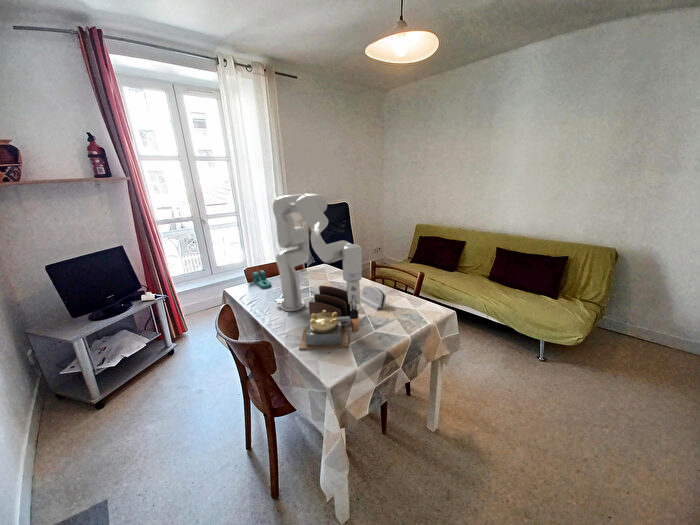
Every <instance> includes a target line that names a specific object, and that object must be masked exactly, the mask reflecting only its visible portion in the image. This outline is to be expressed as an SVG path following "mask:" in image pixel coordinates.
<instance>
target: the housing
mask: <svg viewBox="0 0 700 525" xmlns="http://www.w3.org/2000/svg"><path fill="white" fill-rule="evenodd" d="M349 346H350V345H349V325H348V324H346V325H343V324H342V322H338V327H337V328H336V329H334V330H333V331H330V332H325V333H319V332H315V331H313V330H312V329H311V328H310V320H308V324H307V326H305V327H304V328H303V333H302V335H301V339H300V343H299V347H298V350H299V349H310V350H329V349H331V350H333V349H348V348H350V347H349Z"/></svg>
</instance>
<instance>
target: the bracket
mask: <svg viewBox="0 0 700 525" xmlns="http://www.w3.org/2000/svg"><path fill="white" fill-rule="evenodd" d="M252 280H253V283H254V284H255V285H256V286H258V287H259V288H260V289H262V290H265V289H270V288H271V287H272V282H270V281H269V280H268V279H267V275H266V272H265V271H264V270H262V269H261V270H259V271H254V272H252Z"/></svg>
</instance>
